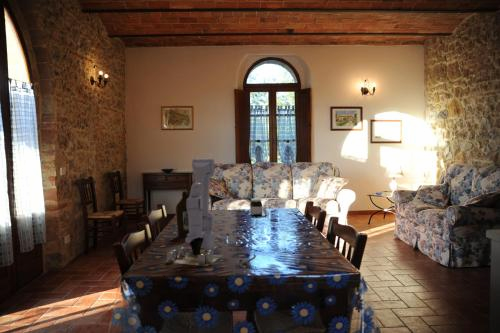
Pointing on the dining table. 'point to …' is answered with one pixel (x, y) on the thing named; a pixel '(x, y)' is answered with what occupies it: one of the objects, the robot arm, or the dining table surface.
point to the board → (193, 259)
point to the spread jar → (257, 207)
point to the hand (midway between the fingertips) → (196, 255)
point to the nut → (201, 251)
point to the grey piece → (172, 256)
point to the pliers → (246, 262)
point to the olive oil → (182, 216)
